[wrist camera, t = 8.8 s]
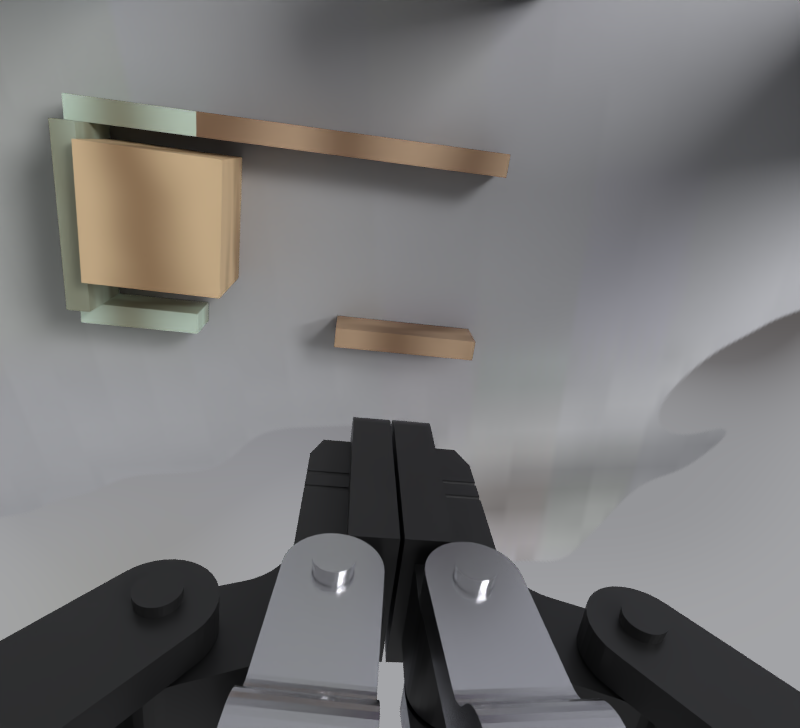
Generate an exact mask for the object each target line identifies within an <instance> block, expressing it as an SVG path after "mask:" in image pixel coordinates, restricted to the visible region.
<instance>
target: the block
mask: <svg viewBox="0 0 800 728" xmlns="http://www.w3.org/2000/svg"><path fill="white" fill-rule="evenodd" d="M71 142H72V156H73V170H74V184H75V198H76V212H77V226H78V240H79V254H80V268H81V282H82V283H88V284H97V285H106V286H114V287H123V288H132V289H141V290H149V291H158V292H167V293H176V294H184V295H193V296H202V297H210V298H219V299H220V297H221V296H222V295H223V294H224V293H225V292H226V291H227V290H228V289H229V288H230V286H231V285H232V284H233V283H234V282H235V281H236V280H237V279H238V274H239V243H240V212H241V181H242V157H237V156H230V155H223V154H216V153H209V152H201V151H194V150H187V149H180V148H173V147H166V146H159V145H152V144H145V143H138V142H131V141H124V140H117V139H71Z"/></svg>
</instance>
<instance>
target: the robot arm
mask: <svg viewBox="0 0 800 728" xmlns="http://www.w3.org/2000/svg"><path fill="white" fill-rule="evenodd" d="M474 483H475V482H474V479H473V476H472V473H471V469H470V466H469V465H468V464H467V463H466V462H465V461H464V460H463V459H462V458H461V457H460V456H459V455H458V454H457V452H456V451H455V450H446V449H435V445H434V441H433V436H432V432H431V427H430V424H429V423H418V422H407V421H395V420H393V421H392V424H390V420H382V419H370V418H358V417H353V423H352V433H351V442H344V441H331V440H323V441H322V442H321V443H320V444H319V445H318V446H317V447H316V448H315V449H314V450H313V451H312V452H311V453H310V459H309V464H308V469H307V475H306V481H305V488H304V492H303V497H302V503H301V509H300V515H299V520H298V525H297V532H296V537H295V542H294V546H292V547H291V548H290V549H289V550H288V552H287V553H286V554H285V556H284V558H283V561H282V563H281V564H280V565H279V566H278V567H277V568H275V569H274V570H272V571H271V572H269V573H267V574H265V575H263V576H260V577H257V578H255V579H251V580H247V581H243V582H237V583H232V584H227V585H222V586H218V583H217V581H216V579H215V578H214V576H213V575H212V574H211V573H210V572H209V571H208V570H207V569H206V568H204V567H202V566H201V565H198V564H196V563H193V562H189V561H185V560H175V559H173V560H159V561H153V562H149V563H145V564H142V565H139V566H136V567H134V568H132V569H130V570H128V571H126V572H124V573H122V574H120V575H118V576H117V577H115V578H113V579H111V580H109V581H108V582H106V583H104V584H102V585H100V586H99V587H97V588H95V589H93V590H91V591H90V592H88V593H86V594H84V595H82V596H80V597H79V598H77V599H75V600H73V601H71V602H70V603H68V604H66V605H64V606H63V607H61V608H59V609H57V610H55V611H53V612H52V613H50V614H48V615H46V616H44V617H43V618H41V619H39V620H37V621H35V622H34V623H32V624H30V625H28V626H27V627H25V628H23V629H21V630H19V631H17V632H16V633H14V634H12V635H10V636H8V637H7V638H5V639H3V640H1V641H0V728H379V719H380V702H379V700H377V686H378V670H379V662H381V661H382V655H383V649H384V642H385V651H386V662H403V668H404V688H403V694H402V699H401V706H400V715H401V716H400V717H401V724H402V728H800V692H799V691H798V690H796V689H795V688H793V687H792V686H790V685H789V684H787V683H785V682H784V681H782V680H781V679H779V678H778V677H776V676H775V675H773V674H772V673H770V672H769V671H767V670H766V669H764V668H762V667H761V666H760V665H758V664H756V663H755V662H753V661H752V660H750V659H749V658H747V657H746V656H744V655H743V654H741V653H740V652H738V651H737V650H735V649H734V648H732V647H731V646H729V645H728V644H726V643H725V642H723V641H721V640H720V639H719V638H717V637H715V636H714V635H712V634H711V633H709V632H708V631H706V630H705V629H703V628H702V627H700V626H699V625H697V624H696V623H694V622H693V621H691V620H690V619H688V618H687V617H685V616H684V615H682V614H680V613H679V612H677V611H676V610H674V609H673V608H671V607H670V606H668V605H667V604H665V603H663V602H662V601H660V600H659V599H657V598H655V597H653V596H651V595H649V594H646V593H644V592H641V591H638V590H635V589H631V588H626V587H606V588H602V589H600V590H598V591H596V592H594V593H593V594H592V595H591V596H590V598H589V600H588V602H587V605H586V608H582V607H578V606H575V605H572V604H569V603H565V602H562V601H559V600H556V599H552V598H549V597H546V596H544V595H541V594H539V593H537V592H535V591H532V590H530V589H529V588H528V587H527V585H526V583H525V581H524V579H523V576H522V575H521V573H520V571H519V569H518V568H517V567H516V566H515V564H514V563H513V562H512V561H511V560H510V559H509V558H507V557H506V556H505V555H503V554H502V553H500V552H498V551H496V548H495V545H494V542H493V539H492V536H491V533H490V529H489V526H488V523H487V520H486V517H485V514H484V510H483V507H482V504H481V501H480V500H479V495H478V491H477V488H476V486H474Z"/></svg>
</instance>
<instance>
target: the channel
mask: <svg viewBox="0 0 800 728" xmlns="http://www.w3.org/2000/svg"><path fill="white" fill-rule="evenodd" d="M62 105H63V116H64V119H56V118H48V121H49V131H50V142H51V152H52V163H53V173H54V184H55V194H56V205H57V215H58V225H59V236H60V246H61V257H62V267H63V278H64V288H65V299H66V309H67V310H73V311H80V313H81V322H82V323H92V324H103V325H113V326H123V327H134V328H144V329H154V330H164V331H175V332H185V333H195V334H198V333H199V331H200V330H201V329H202V328H203V327H204V326H205V324H206V323H207V322H208V302H199V301H189V300H180V299H170V298H160V297H150V296H141V295H131V294H121V293H119V287H114V286H106V285H97V284H88V283H82V282H81V268H80V254H79V240H78V226H77V212H76V198H75V184H74V170H73V156H72V142H71V139H110V125H113V126H120V127H128V128H135V129H143V130H150V131H158V132H165V133H173V134H180V135H188V136H195V137H203V138H210V139H218V140H225V141H233V142H240V143H248V144H255V145H263V146H271V147H278V148H286V149H293V150H301V151H308V152H316V153H323V154H331V155H338V156H346V157H353V158H361V159H368V160H376V161H383V162H391V163H398V164H406V165H413V166H421V167H428V168H436V169H443V170H451V171H458V172H466V173H474V174H481V175H489V176H496V177H504V178H506V176H507V171H508V165H509V160H510V154H502V153H495V152H488V151H481V150H473V149H466V148H459V147H451V146H444V145H437V144H430V143H422V142H415V141H408V140H401V139H393V138H386V137H379V136H372V135H364V134H357V133H350V132H343V131H335V130H328V129H321V128H313V127H306V126H299V125H292V124H284V123H277V122H270V121H263V120H255V119H248V118H241V117H234V116H226V115H219V114H212V113H204V112H197V111H190V110H183V109H175V108H168V107H161V106H154V105H146V104H139V103H132V102H125V101H117V100H110V99H103V98H95V97H88V96H81V95H74V94H66V93H62ZM334 347H340V348H350V349H360V350H371V351H381V352H391V353H402V354H412V355H422V356H433V357H443V358H453V359H464V360H472V358H473V352H474V347H475V341H474V339H473V337H472V335H471V333H470V332H469V330H468V329H461V328H452V327H442V326H432V325H423V324H413V323H403V322H393V321H384V320H374V319H364V318H355V317H345V316H337V323H336V332H335V343H334Z"/></svg>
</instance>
